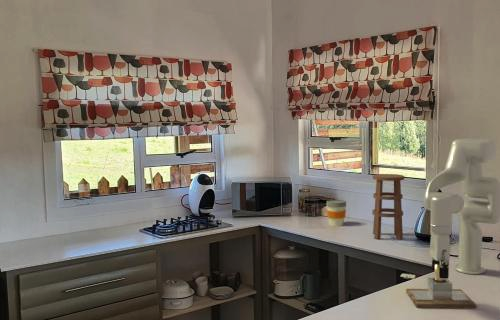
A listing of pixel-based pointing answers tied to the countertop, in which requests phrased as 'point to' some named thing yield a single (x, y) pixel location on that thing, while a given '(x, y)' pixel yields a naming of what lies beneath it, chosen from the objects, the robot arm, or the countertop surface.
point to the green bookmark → (407, 276)
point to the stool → (397, 208)
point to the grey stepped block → (439, 292)
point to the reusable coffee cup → (336, 212)
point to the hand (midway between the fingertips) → (439, 274)
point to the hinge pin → (437, 279)
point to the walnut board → (441, 301)
